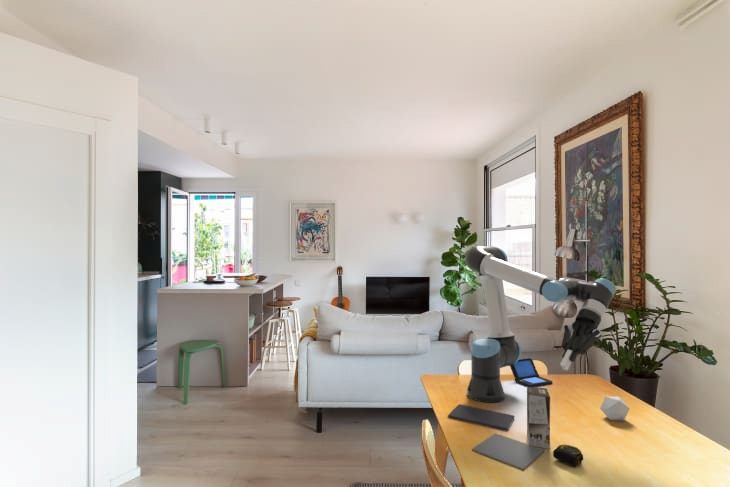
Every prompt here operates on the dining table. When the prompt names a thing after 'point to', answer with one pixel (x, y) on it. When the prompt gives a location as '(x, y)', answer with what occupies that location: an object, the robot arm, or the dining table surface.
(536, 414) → the coffee box
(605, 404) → the die
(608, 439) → the dining table surface
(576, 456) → the tape measure
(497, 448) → the mat
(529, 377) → the handheld game console
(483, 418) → the notebook
